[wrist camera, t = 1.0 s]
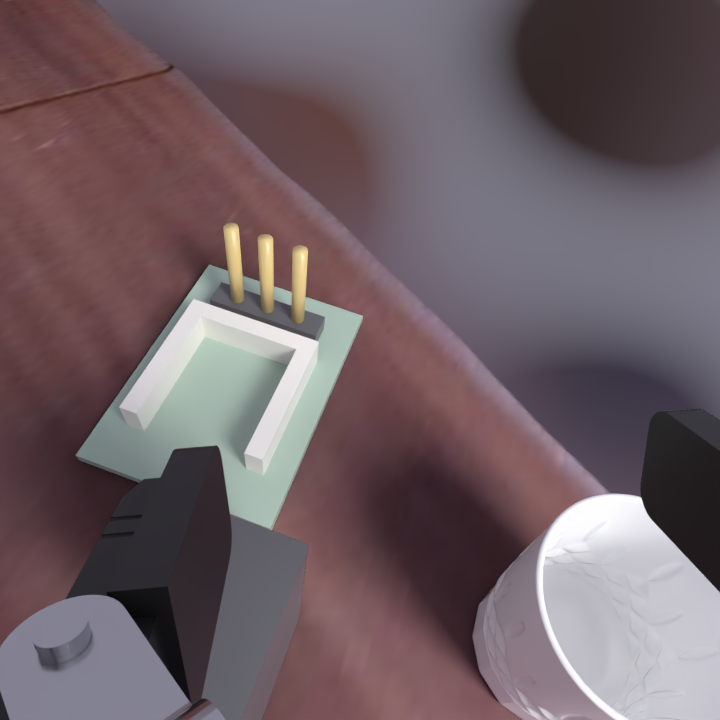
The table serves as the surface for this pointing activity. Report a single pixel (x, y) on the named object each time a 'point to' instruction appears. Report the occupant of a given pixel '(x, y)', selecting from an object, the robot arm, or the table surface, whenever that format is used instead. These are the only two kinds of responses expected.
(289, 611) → the block
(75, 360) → the table surface
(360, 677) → the table surface
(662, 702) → the white cup
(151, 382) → the header board
